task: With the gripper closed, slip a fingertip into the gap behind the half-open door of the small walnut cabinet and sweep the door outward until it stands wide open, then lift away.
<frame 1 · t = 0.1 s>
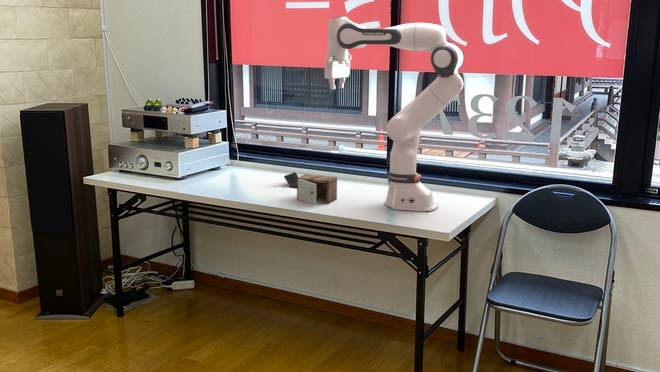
hand: (336, 88, 273), 48 cm above the table, fingers open, 8 cm apart
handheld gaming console: (297, 186, 306), on the table
walnut cabinet: (316, 199, 278), on the table
cabinet door: (305, 191, 270), point 5 cm above the table, hinge at 30.0°
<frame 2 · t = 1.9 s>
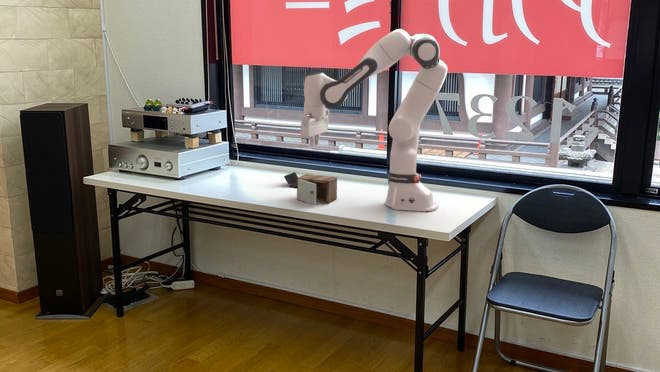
hand: (314, 145, 266), 25 cm above the table, fingers closed
nothing on the table moved.
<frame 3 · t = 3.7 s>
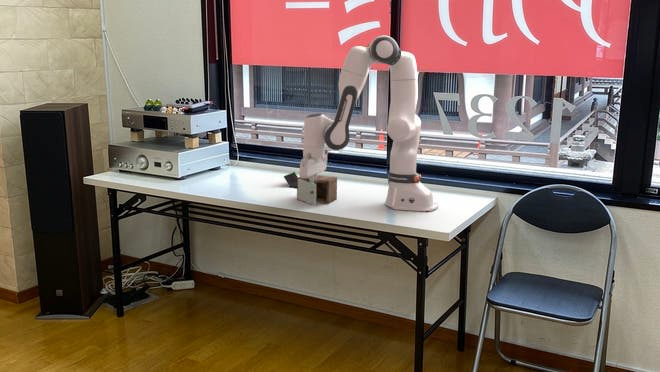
hand: (312, 184, 270), 8 cm above the table, fingers closed
nothing on the table moved.
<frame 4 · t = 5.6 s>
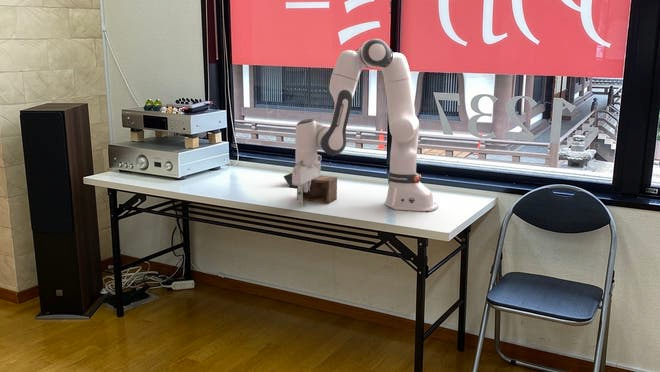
hand: (306, 191, 265), 6 cm above the table, fingers closed
cabinet door: (299, 192, 269), point 5 cm above the table, hinge at 58.2°, touching gripper
everything else where it was.
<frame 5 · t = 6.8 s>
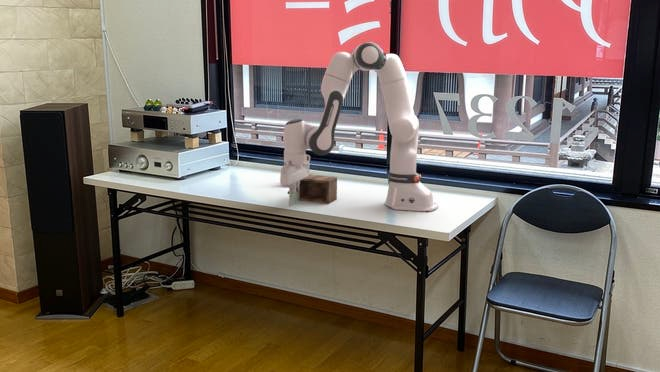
hand: (295, 191, 265), 6 cm above the table, fingers closed
cabinet door: (293, 192, 269), point 5 cm above the table, hinge at 80.6°, touching gripper
everything else where it was.
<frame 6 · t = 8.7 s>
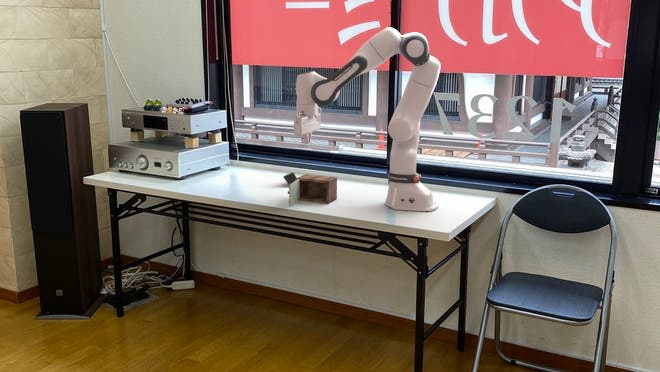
hand: (307, 143, 269), 25 cm above the table, fingers closed
cabinet door: (293, 192, 269), point 5 cm above the table, hinge at 80.7°
everything else where it was.
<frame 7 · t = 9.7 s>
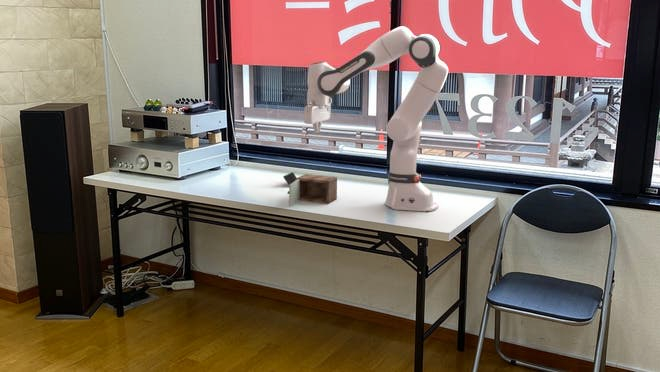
hand: (317, 132, 276), 29 cm above the table, fingers closed
nothing on the table moved.
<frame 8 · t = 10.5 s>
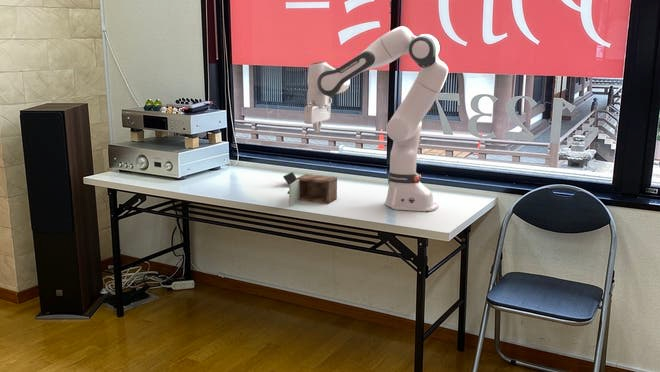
hand: (317, 132, 276), 29 cm above the table, fingers closed
nothing on the table moved.
at the end: cabinet door at +81° (first picture: +30°); the gripper is holding nothing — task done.
